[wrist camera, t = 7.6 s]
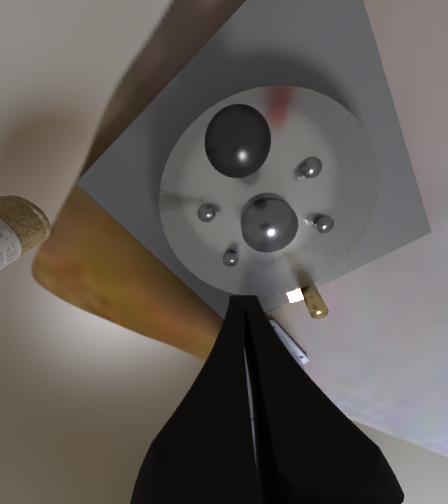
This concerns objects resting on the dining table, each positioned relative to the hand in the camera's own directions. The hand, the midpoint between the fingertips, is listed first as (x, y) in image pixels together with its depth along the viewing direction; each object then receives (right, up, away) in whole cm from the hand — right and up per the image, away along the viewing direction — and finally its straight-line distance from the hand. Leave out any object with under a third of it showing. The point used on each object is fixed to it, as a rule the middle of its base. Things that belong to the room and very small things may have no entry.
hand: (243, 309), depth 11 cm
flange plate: (+2, +6, +6) cm, 9 cm away
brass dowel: (+7, +1, +10) cm, 12 cm away
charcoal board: (+2, +7, +7) cm, 10 cm away
